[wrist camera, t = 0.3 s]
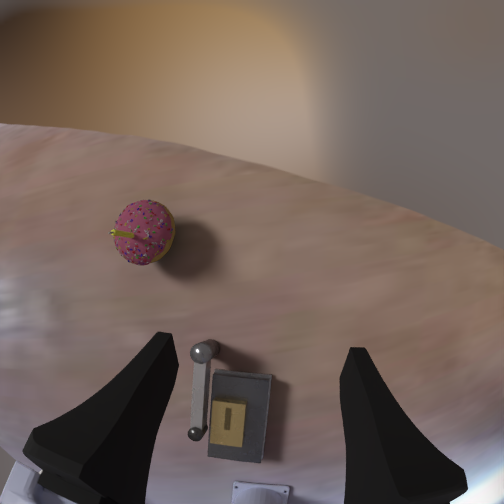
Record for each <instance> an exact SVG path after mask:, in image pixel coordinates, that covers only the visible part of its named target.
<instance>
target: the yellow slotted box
mask: <svg viewBox="0 0 504 504" xmlns="http://www.w3.org/2000/svg"><path fill="white" fill-rule="evenodd" d="M246 407H247V401H241V400H232V399H224V398H217V397H215V398H214V400H213V403H212V418H211V434H210V443H213V444H220V445H227V446H235V447H242V445H243V440H244V429H245V418H246Z"/></svg>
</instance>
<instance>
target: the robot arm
mask: <svg viewBox="0 0 504 504" xmlns="http://www.w3.org/2000/svg"><path fill="white" fill-rule="evenodd" d="M178 367H179V363H178V359H177V354H176V350H175V345H174V341H173V336H172V334H171V333H164V332H157V333H156V334H155V335H154V336H153V337H152V339H151V340H150V341H149V342H148V343H147V344H146V345H145V346H144V348H143V349H142V350H141V351H140V352H139V353H138V354H137V355H136V356H135V357H134V358H133V359H132V361H131V362H130V363H129V364H128V365H127V366H126V367H125V368H124V369H123V370H122V371H121V372H120V373H119V374H117V375H116V376H115V377H114V378H113V379H112V380H111V381H110V382H109V383H108V384H107V385H105V386H104V387H103V388H102V389H101V390H99V391H98V392H97V393H96V394H94V395H93V396H92V397H90V398H89V399H87V400H86V401H85V402H83V403H82V404H80V405H79V406H77V407H76V408H74V409H72V410H71V411H69V412H67V413H65V414H64V415H62V416H60V417H58V418H56V419H54V420H52V421H50V422H48V423H45V424H43V425H41V426H38V427H36V428H34V429H33V430H32V432H31V434H30V436H29V438H28V440H27V442H26V444H25V446H24V449H23V454H24V455H25V456H26V457H27V458H28V459H30V460H31V461H32V462H33V463H35V464H36V465H37V466H38V467H40V468H41V469H42V473H41V474H39V473H38V472H36V471H34V470H33V469H31V468H29V467H27V466H26V465H24V464H22V463H21V462H19V461H16V462H15V464H14V466H13V468H12V471H11V473H10V475H9V478H8V480H7V482H6V485H5V487H4V489H3V492H2V494H1V497H0V503H1V504H145V497H146V488H147V481H148V475H149V469H150V463H151V458H152V453H153V449H154V444H155V440H156V436H157V432H158V429H159V426H160V423H161V421H162V418H163V415H164V412H165V410H166V407H167V404H168V402H169V399H170V396H171V393H172V391H173V388H174V384H175V380H176V376H177V371H178ZM340 404H341V411H342V419H343V427H344V435H345V443H346V483H345V498H344V504H450V501H452V500H454V499H456V498H457V497H459V496H461V495H462V494H464V493H465V492H466V491H467V490H468V486H467V480H466V475H465V472H464V469H462V468H461V467H460V466H458V465H457V464H455V463H454V462H453V461H451V460H450V459H449V458H447V457H446V456H445V455H444V454H443V453H442V452H440V451H439V450H438V449H437V448H436V447H435V446H434V445H433V444H432V443H431V442H430V441H429V440H428V439H427V438H426V437H425V436H424V435H423V434H422V433H421V432H420V431H419V429H418V428H417V427H416V426H415V425H414V424H413V422H412V421H411V420H410V419H409V417H408V416H407V415H406V414H405V412H404V411H403V410H402V408H401V407H400V405H399V404H398V402H397V401H396V400H395V398H394V396H393V395H392V393H391V392H390V390H389V389H388V387H387V385H386V384H385V382H384V381H383V379H382V377H381V375H380V374H379V372H378V370H377V368H376V367H375V365H374V363H373V361H372V359H371V357H370V356H369V354H368V352H367V350H366V349H365V348H361V347H350V350H349V353H348V356H347V359H346V361H345V364H344V367H343V370H342V373H341V375H340ZM235 486H237V487H238V488H236V487H235ZM289 490H290V488H289V486H285V485H269V484H257V483H247V482H238V481H236V482H234V484H233V493H232V504H287V501H288V495H289ZM284 491H287V492H284Z"/></svg>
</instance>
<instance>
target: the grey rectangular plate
mask: <svg viewBox="0 0 504 504" xmlns="http://www.w3.org/2000/svg"><path fill="white" fill-rule="evenodd" d="M271 378H272V374H262V373H251V372H241V371H232V370H223V369H215V372H214V374H213V380H212V394H211V409H210V425H209V442H208V457H214V458H221V459H228V460H236V461H244V462H254V463H261V459H263V453H264V444H265V435H266V426H267V417H268V408H269V398H270V388H271ZM215 397H217V398H224V399H232V400H241V401H247V407H246V418H245V429H244V440H243V445H242V447H235V446H227V445H220V444H213V443H210V434H211V418H212V403H213V400H214V398H215Z"/></svg>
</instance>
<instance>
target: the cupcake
mask: <svg viewBox="0 0 504 504" xmlns="http://www.w3.org/2000/svg"><path fill="white" fill-rule="evenodd" d="M123 210H124V211H123V212H121V213H120V215H119V218H118V220H117V221H115V223H116V225H115V228H114V229H113V230H112V231H111V232H108V233H109V234H110V233H111V234H112V235H114V241H115V245H116V249H117V250H118V252H119V253H120V254H121V256H123V257H124V258H125V259H126V260H128V262H131V263H134V264H136V265H147V264H149V263H152V262H155V261H158V260H160V259H161V258H162V257H163V256H164V255H165V254H166V253H167V252H168V251H169V249H170V247H171V245H172V242H173V238H174V236H175V224H174V218H173V216H172V214H171V213H170V212H169V210H168V209H167V208H166V207H165V206H164V205H162V204H161V203H159V202H156V201H151V200H141V201H137V202H135V203H132V204H130V205H128V206H127V207H126V208H125V209H123Z"/></svg>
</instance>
